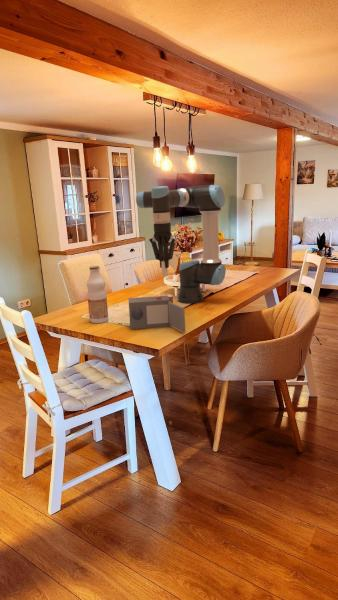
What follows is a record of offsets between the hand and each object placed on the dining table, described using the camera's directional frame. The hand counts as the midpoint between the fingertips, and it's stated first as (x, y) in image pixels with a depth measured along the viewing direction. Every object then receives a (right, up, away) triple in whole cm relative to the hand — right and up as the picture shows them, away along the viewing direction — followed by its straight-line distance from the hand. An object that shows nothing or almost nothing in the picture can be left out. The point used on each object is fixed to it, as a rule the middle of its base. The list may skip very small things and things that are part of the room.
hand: (164, 274), depth 182 cm
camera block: (-7, -24, +11) cm, 27 cm away
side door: (+6, -25, +2) cm, 26 cm away
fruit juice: (-34, -22, +21) cm, 46 cm away
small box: (0, -20, +26) cm, 32 cm away
